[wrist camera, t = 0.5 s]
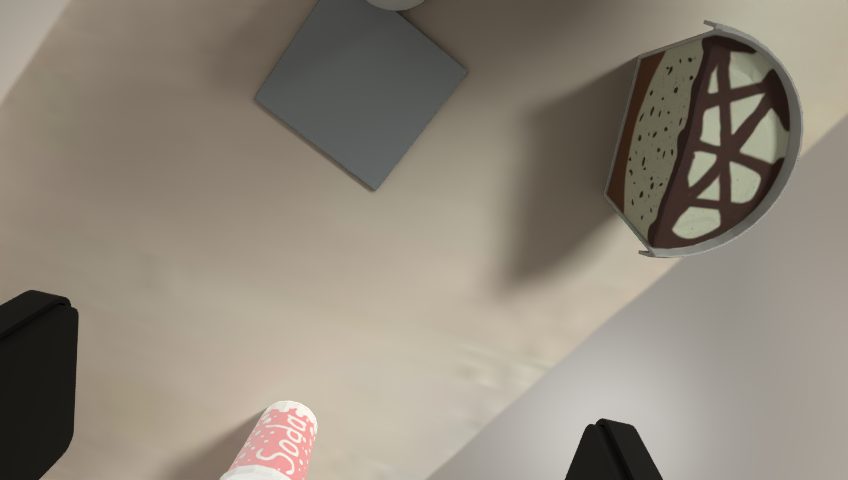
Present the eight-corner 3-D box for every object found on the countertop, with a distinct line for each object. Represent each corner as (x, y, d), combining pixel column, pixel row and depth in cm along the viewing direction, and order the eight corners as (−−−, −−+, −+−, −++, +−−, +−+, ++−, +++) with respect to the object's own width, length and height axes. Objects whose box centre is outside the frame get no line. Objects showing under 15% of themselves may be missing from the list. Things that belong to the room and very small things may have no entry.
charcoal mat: (342, -33, 34) (341, -34, 33) (467, 71, 35) (468, 71, 35) (255, 98, 36) (254, 98, 36) (376, 189, 38) (375, 191, 37)
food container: (683, 228, 38) (765, 282, 29) (597, 216, 38) (652, 266, 28) (739, 45, 34) (855, 37, 25) (644, 30, 34) (725, 16, 25)
